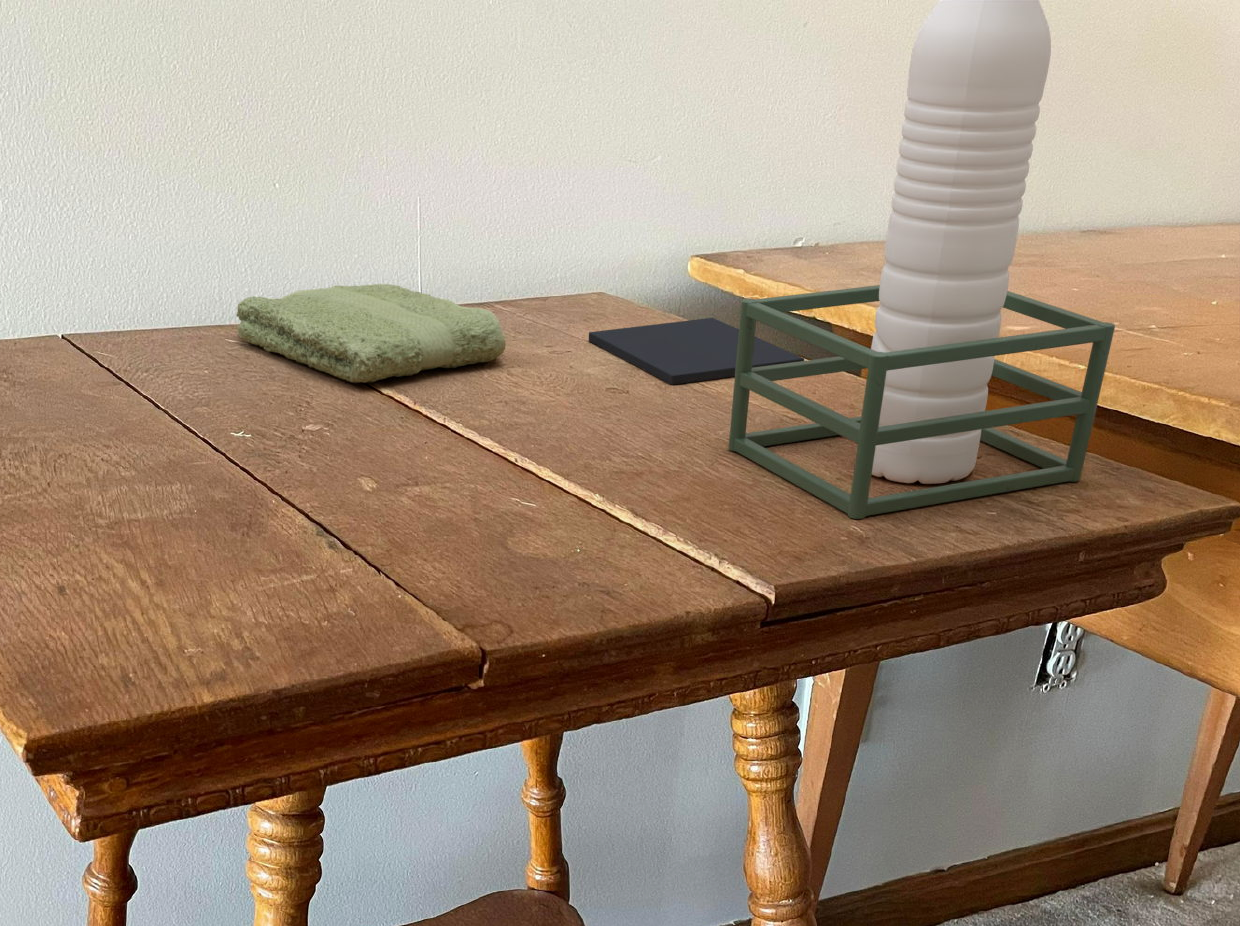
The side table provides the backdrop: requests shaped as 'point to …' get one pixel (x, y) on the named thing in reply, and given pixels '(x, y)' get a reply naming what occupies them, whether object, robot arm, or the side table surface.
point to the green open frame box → (871, 434)
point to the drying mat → (687, 349)
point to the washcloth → (371, 331)
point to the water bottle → (956, 218)
